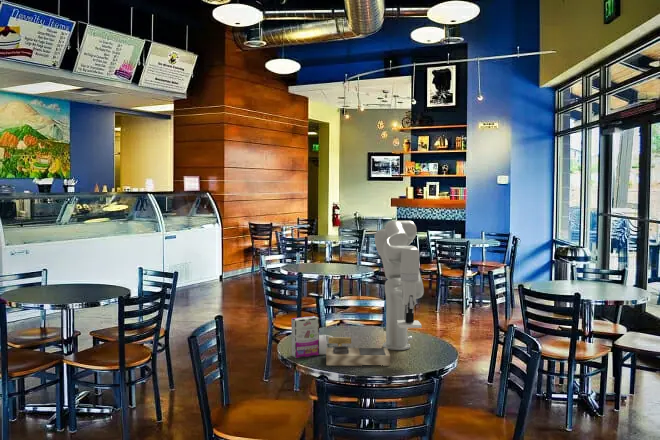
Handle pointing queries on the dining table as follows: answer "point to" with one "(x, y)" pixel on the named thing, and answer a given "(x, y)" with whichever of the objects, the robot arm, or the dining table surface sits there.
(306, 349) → the candy bar box
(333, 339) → the t key
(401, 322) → the cover
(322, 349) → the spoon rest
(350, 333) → the dining table surface
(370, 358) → the beige flat block
